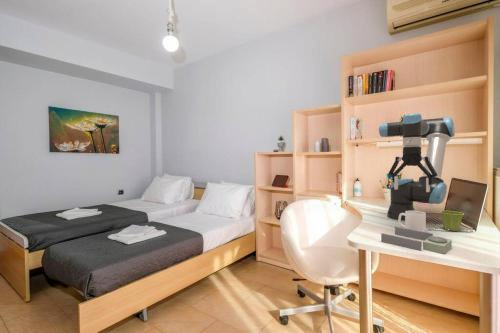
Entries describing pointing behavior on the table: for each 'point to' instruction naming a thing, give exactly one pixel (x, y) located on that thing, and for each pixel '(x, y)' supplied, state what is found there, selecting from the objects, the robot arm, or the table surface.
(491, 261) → the table surface
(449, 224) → the plant pot
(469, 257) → the table surface
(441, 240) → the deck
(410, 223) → the cup
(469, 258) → the table surface
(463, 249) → the table surface
